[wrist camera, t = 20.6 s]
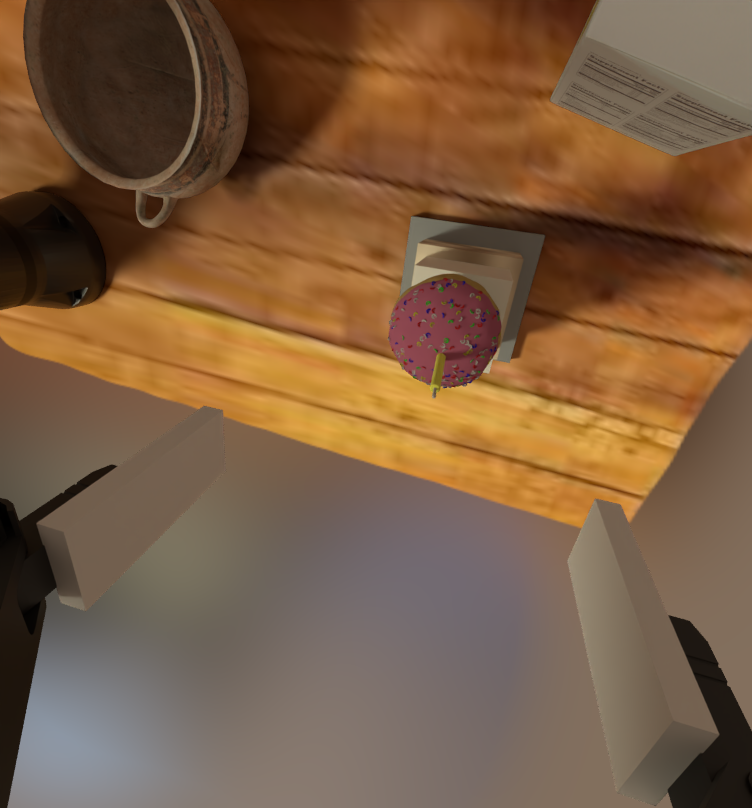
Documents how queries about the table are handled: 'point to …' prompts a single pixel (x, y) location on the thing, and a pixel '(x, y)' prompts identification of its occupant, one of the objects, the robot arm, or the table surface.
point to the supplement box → (664, 71)
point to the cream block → (487, 276)
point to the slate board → (486, 238)
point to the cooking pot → (140, 92)
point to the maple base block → (475, 257)
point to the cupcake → (445, 331)
